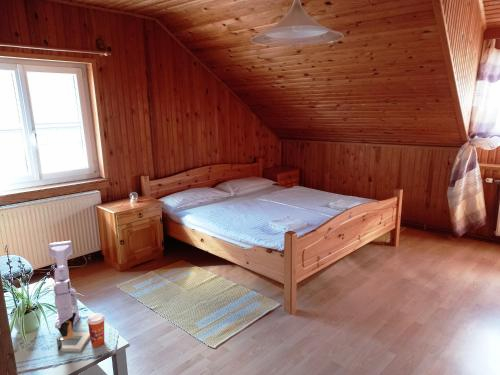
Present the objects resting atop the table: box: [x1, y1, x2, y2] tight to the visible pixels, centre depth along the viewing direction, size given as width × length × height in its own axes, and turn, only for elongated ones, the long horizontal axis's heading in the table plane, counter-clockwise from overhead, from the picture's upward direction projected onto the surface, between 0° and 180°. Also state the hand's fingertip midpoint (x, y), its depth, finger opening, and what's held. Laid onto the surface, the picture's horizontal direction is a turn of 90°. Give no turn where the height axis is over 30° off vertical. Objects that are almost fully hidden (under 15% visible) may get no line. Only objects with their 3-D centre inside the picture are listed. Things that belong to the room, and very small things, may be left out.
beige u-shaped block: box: [60, 331, 90, 353], centre depth 172 cm, size 12×9×2 cm
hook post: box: [56, 337, 65, 351], centre depth 167 cm, size 2×3×5 cm, turn 91°
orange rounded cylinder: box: [61, 321, 73, 340], centre depth 165 cm, size 4×4×6 cm
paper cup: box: [86, 312, 106, 348], centre depth 170 cm, size 8×8×14 cm
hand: (67, 332), depth 165 cm, fingers closed on orange rounded cylinder, 4 cm apart
